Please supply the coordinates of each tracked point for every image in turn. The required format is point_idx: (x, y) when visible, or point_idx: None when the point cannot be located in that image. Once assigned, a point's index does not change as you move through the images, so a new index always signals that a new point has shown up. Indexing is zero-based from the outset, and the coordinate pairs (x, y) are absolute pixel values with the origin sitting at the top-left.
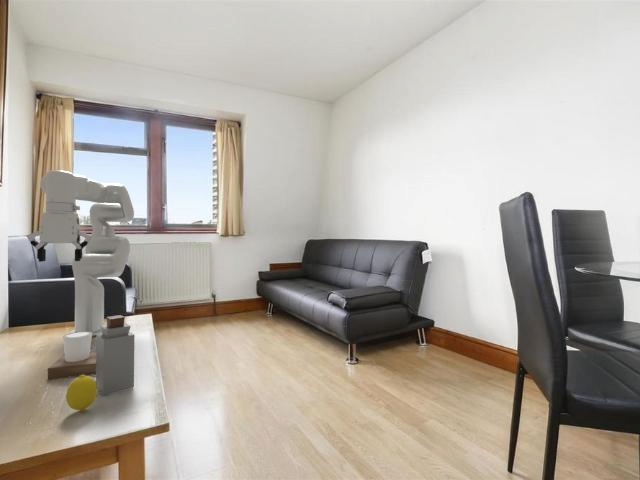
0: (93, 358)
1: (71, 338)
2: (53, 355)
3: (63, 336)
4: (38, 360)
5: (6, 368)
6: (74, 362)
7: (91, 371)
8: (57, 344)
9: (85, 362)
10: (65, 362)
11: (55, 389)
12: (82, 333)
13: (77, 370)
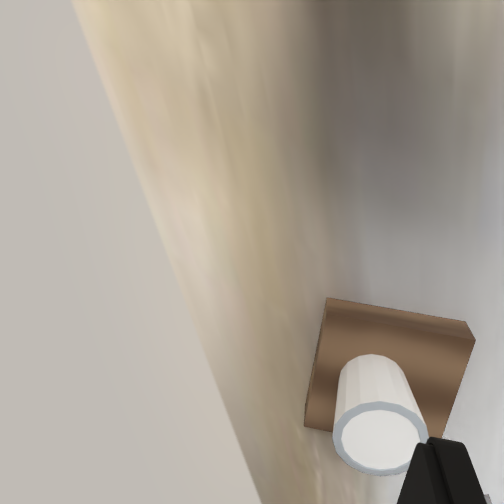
0: (418, 405)
1: (363, 472)
2: (274, 183)
3: (334, 439)
4: (239, 222)
5: (172, 261)
6: None
7: None
8: (254, 5)
9: None
10: None
11: (334, 470)
12: (395, 429)
13: None
